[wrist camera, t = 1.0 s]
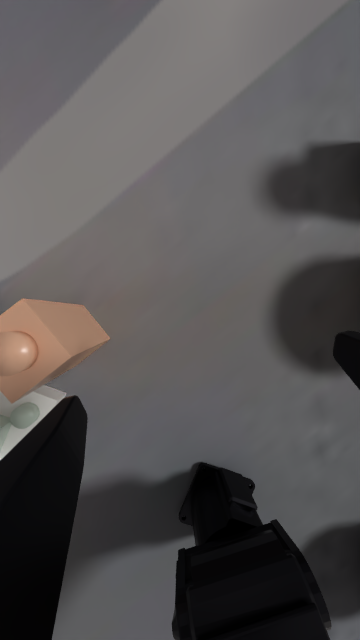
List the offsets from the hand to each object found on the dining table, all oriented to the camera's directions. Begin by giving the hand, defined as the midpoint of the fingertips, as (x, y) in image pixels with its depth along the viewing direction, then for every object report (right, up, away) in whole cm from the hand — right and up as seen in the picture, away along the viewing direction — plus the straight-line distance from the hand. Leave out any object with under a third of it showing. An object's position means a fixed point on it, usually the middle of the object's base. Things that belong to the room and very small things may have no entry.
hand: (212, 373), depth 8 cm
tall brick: (-11, 0, +16) cm, 19 cm away
